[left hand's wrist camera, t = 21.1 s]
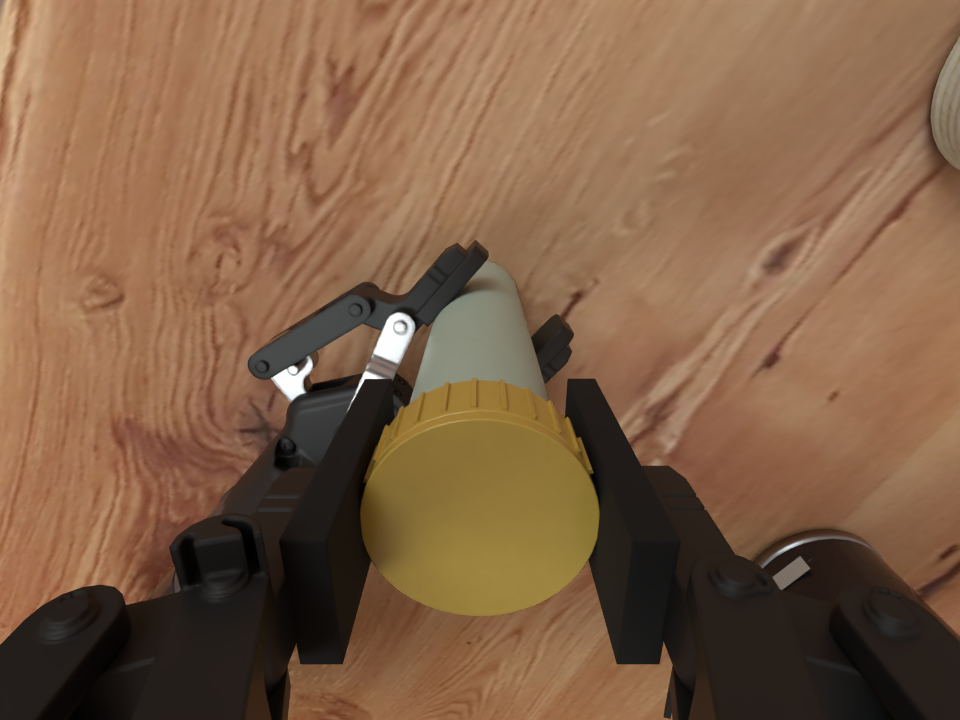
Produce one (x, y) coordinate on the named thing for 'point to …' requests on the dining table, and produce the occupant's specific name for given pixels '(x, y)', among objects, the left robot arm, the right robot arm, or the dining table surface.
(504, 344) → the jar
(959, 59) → the seashell
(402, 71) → the dining table surface
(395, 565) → the lid
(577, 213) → the dining table surface
